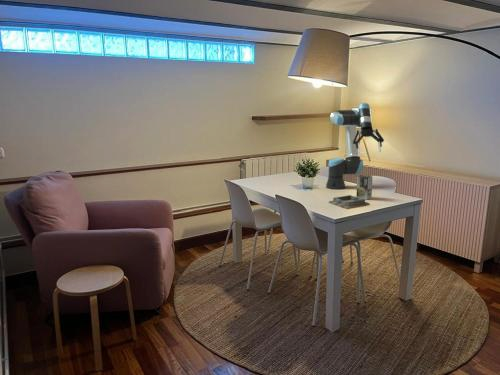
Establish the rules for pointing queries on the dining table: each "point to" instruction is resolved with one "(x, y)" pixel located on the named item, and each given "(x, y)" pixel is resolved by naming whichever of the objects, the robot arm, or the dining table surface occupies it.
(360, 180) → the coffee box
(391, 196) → the dining table surface
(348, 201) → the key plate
